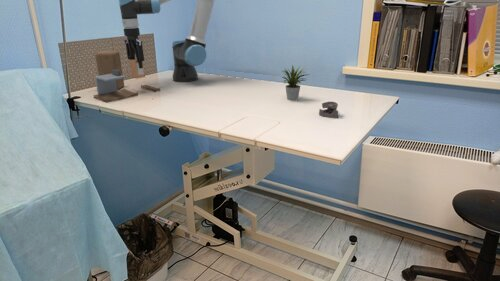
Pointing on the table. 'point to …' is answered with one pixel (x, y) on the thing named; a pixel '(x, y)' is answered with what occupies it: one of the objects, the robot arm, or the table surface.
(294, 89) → the house plant
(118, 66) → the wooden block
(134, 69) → the terracotta block
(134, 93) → the puzzle board
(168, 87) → the table surface
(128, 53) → the robot arm
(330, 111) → the dental mold
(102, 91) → the sliding cover
